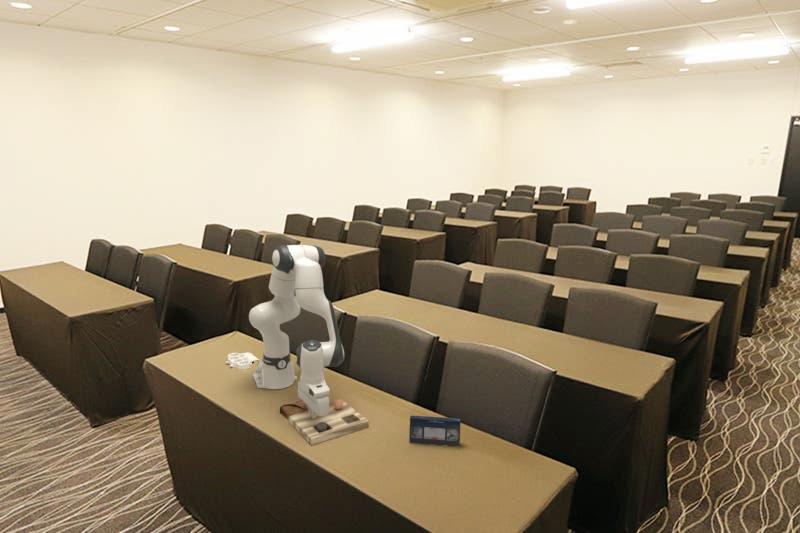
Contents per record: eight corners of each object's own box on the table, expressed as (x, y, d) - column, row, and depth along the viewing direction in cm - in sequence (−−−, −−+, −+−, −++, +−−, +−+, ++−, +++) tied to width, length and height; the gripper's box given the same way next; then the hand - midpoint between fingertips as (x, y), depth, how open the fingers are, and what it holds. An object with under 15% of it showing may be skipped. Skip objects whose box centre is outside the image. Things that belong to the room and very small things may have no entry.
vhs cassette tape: (408, 443, 188) (409, 418, 186) (409, 438, 191) (410, 414, 189) (459, 447, 185) (460, 422, 183) (459, 443, 188) (461, 418, 186)
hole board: (288, 422, 201) (288, 416, 200) (343, 406, 214) (343, 400, 214) (311, 445, 185) (311, 439, 184) (368, 426, 198) (368, 420, 198)
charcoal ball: (318, 436, 191) (314, 429, 194) (328, 433, 193) (323, 426, 196) (319, 428, 190) (315, 421, 193) (329, 425, 192) (324, 418, 195)
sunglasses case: (288, 421, 201) (284, 404, 203) (282, 423, 207) (278, 406, 208) (329, 408, 212) (324, 392, 214) (321, 410, 218) (317, 395, 219)
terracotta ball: (331, 407, 208) (331, 398, 207) (340, 405, 210) (340, 396, 209) (336, 411, 204) (336, 402, 204) (345, 409, 207) (345, 400, 206)
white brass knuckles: (263, 366, 254) (234, 373, 245) (248, 355, 268) (220, 361, 259) (263, 360, 253) (233, 367, 245) (248, 349, 267) (220, 355, 258)
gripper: (293, 375, 202) (294, 407, 205) (316, 395, 186) (316, 430, 189) (308, 372, 206) (308, 403, 209) (332, 391, 189) (332, 425, 192)
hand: (312, 416), depth 199 cm, fingers closed
